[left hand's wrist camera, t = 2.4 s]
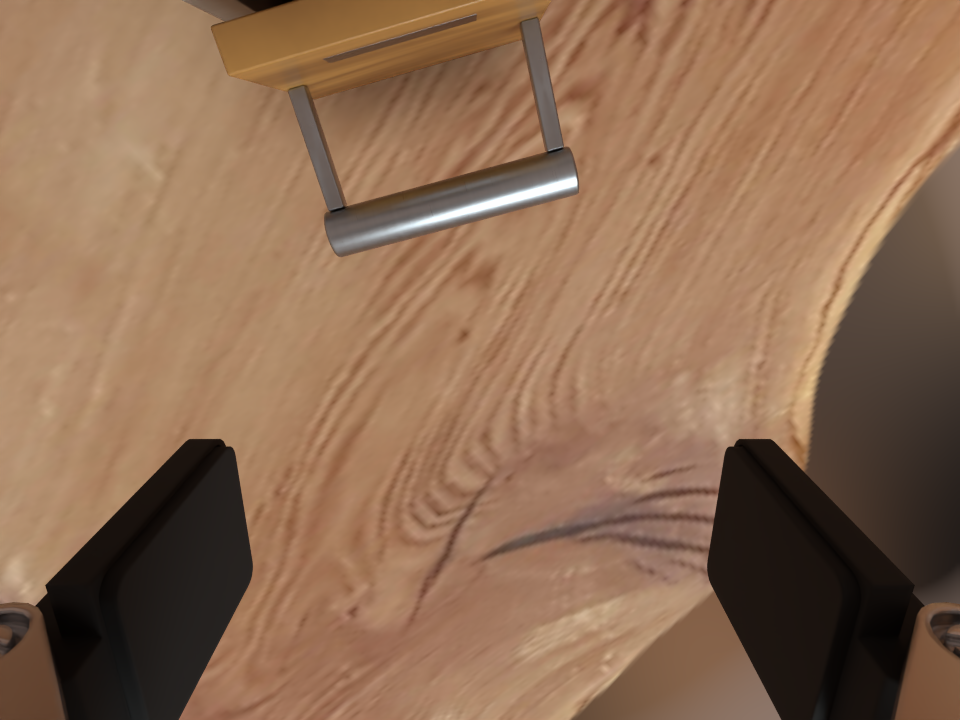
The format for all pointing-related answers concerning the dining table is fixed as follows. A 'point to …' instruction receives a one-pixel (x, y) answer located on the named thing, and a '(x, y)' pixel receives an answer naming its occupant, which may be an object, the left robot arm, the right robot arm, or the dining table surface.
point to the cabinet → (234, 7)
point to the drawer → (387, 53)
